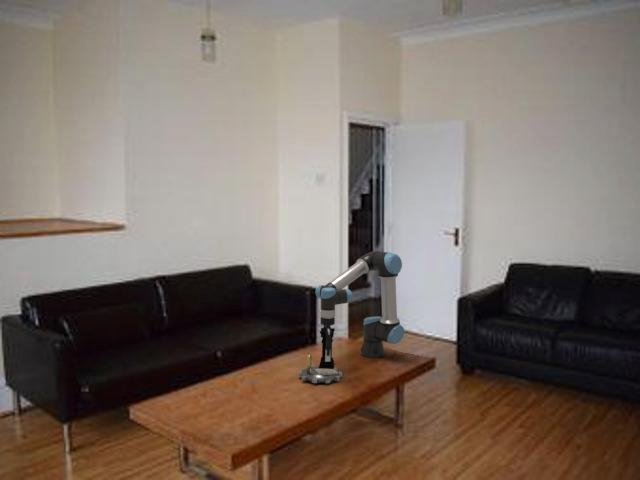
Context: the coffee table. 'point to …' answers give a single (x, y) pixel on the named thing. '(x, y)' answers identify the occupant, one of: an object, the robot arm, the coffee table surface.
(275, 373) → the coffee table surface
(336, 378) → the sprocket
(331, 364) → the chess piece
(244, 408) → the coffee table surface
